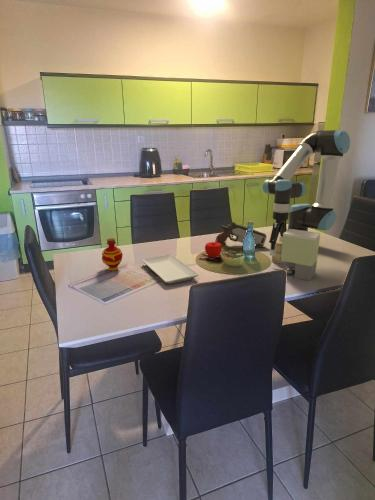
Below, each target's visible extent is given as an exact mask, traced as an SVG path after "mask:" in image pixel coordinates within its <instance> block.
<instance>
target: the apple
mask: <svg viewBox="0 0 375 500" xmlns="http://www.w3.org/2000/svg"><path fill="white" fill-rule="evenodd" d="M222 248H223V245H221V244H220V243H217V242H215V241H211V242H206V244H205V246H204V250H205V253H206V255H207V256H208V257H209V258H213V259H216V258H219V257H220V254H221V253H222ZM210 256H211V257H210ZM217 256H218V257H217Z"/></svg>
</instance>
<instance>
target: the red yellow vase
mask: <svg viewBox="0 0 375 500" xmlns="http://www.w3.org/2000/svg"><path fill="white" fill-rule="evenodd" d="M116 243H117V242H116V238H113V237H111V238H107V239H106V244H107V245H108V246H107V247H106V248H104V249H103V250H102V252H101V261H102V263H103V264H105V265H106V266H107V267H108V268H107V270H109V271H112V272H113V271H114V272H115V271H117V270H119V265H120V263H121V262H122V260H123V257H124V254H123V252H122V249H121V248H119V247H117V246H116Z"/></svg>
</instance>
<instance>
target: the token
mask: <svg viewBox="0 0 375 500" xmlns="http://www.w3.org/2000/svg"><path fill="white" fill-rule="evenodd" d="M284 270H286V271H287V275H286V276H295V267H294V266H284V267H283V271H284Z"/></svg>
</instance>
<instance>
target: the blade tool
mask: <svg viewBox="0 0 375 500" xmlns="http://www.w3.org/2000/svg"><path fill="white" fill-rule="evenodd" d="M276 243H277V246H276V256H271V262H272V263H277V264H279V263H280V264H285V265H290V266H293V267H294V266H295V267H296V263H291V262H285V261H281V252H282V242H279V240H277V241H276Z"/></svg>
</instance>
